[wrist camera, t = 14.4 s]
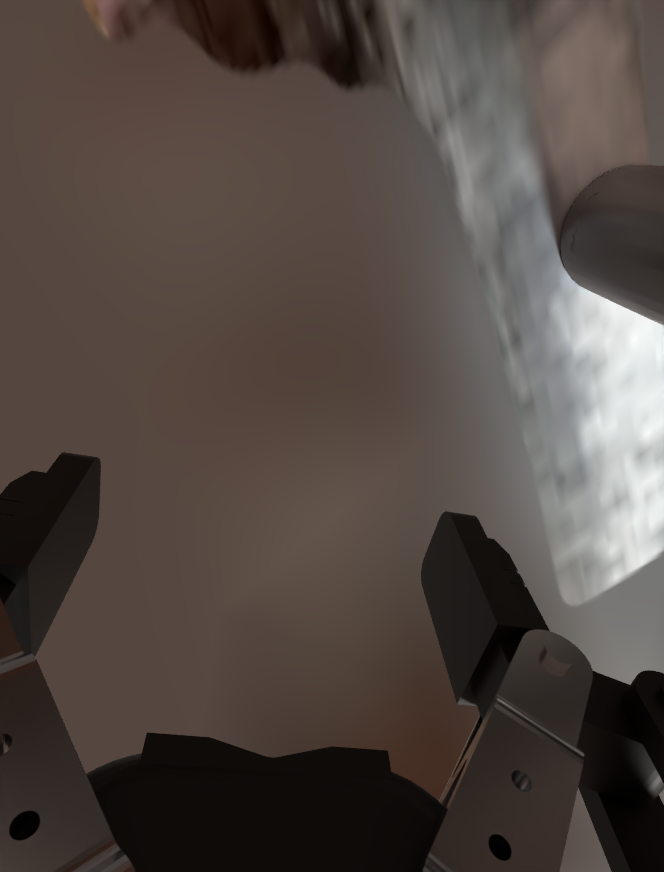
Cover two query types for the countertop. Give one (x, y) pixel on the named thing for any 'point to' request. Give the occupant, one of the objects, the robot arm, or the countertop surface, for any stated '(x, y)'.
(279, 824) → the robot arm
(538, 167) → the countertop surface
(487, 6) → the countertop surface
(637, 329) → the countertop surface
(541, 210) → the countertop surface
